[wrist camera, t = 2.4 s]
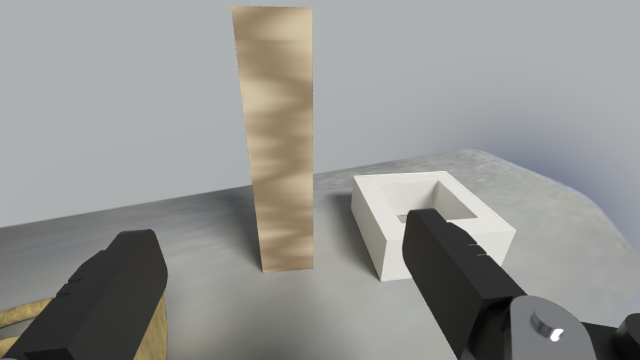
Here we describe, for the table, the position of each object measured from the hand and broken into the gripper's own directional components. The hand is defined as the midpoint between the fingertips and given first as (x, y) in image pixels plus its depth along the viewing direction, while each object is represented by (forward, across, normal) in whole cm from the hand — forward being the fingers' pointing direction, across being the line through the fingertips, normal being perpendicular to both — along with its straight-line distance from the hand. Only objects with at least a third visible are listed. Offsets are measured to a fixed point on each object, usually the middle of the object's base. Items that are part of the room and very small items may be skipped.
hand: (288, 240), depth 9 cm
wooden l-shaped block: (+13, 0, +11) cm, 17 cm away
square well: (+12, -12, +11) cm, 20 cm away
